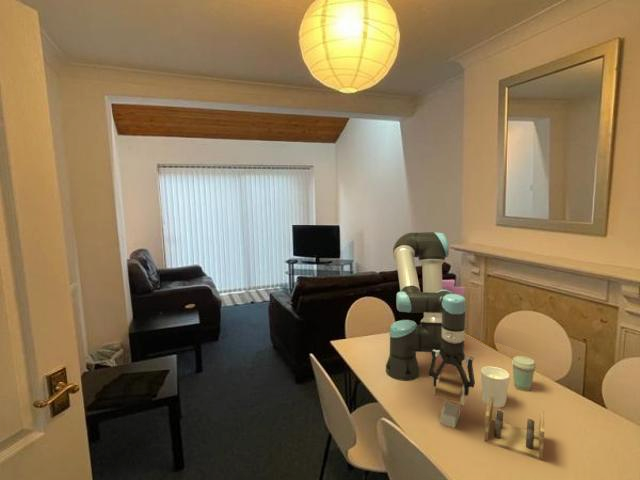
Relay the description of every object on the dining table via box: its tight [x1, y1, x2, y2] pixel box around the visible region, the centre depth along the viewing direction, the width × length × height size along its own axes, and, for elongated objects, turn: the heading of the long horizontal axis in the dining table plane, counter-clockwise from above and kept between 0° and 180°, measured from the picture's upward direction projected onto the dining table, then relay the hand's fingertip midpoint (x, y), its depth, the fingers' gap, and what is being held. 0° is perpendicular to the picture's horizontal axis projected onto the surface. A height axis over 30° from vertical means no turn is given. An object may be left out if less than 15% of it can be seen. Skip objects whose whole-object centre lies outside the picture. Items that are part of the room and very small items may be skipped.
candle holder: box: [480, 365, 510, 409], centre depth 134 cm, size 10×10×12 cm
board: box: [434, 371, 463, 404], centre depth 123 cm, size 12×8×3 cm, turn 147°
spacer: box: [439, 401, 461, 429], centre depth 124 cm, size 8×5×4 cm, turn 148°
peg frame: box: [484, 396, 545, 462], centre depth 113 cm, size 16×12×10 cm
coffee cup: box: [511, 355, 537, 392], centre depth 143 cm, size 8×8×12 cm
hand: (450, 398), depth 124 cm, fingers closed on board, 8 cm apart
